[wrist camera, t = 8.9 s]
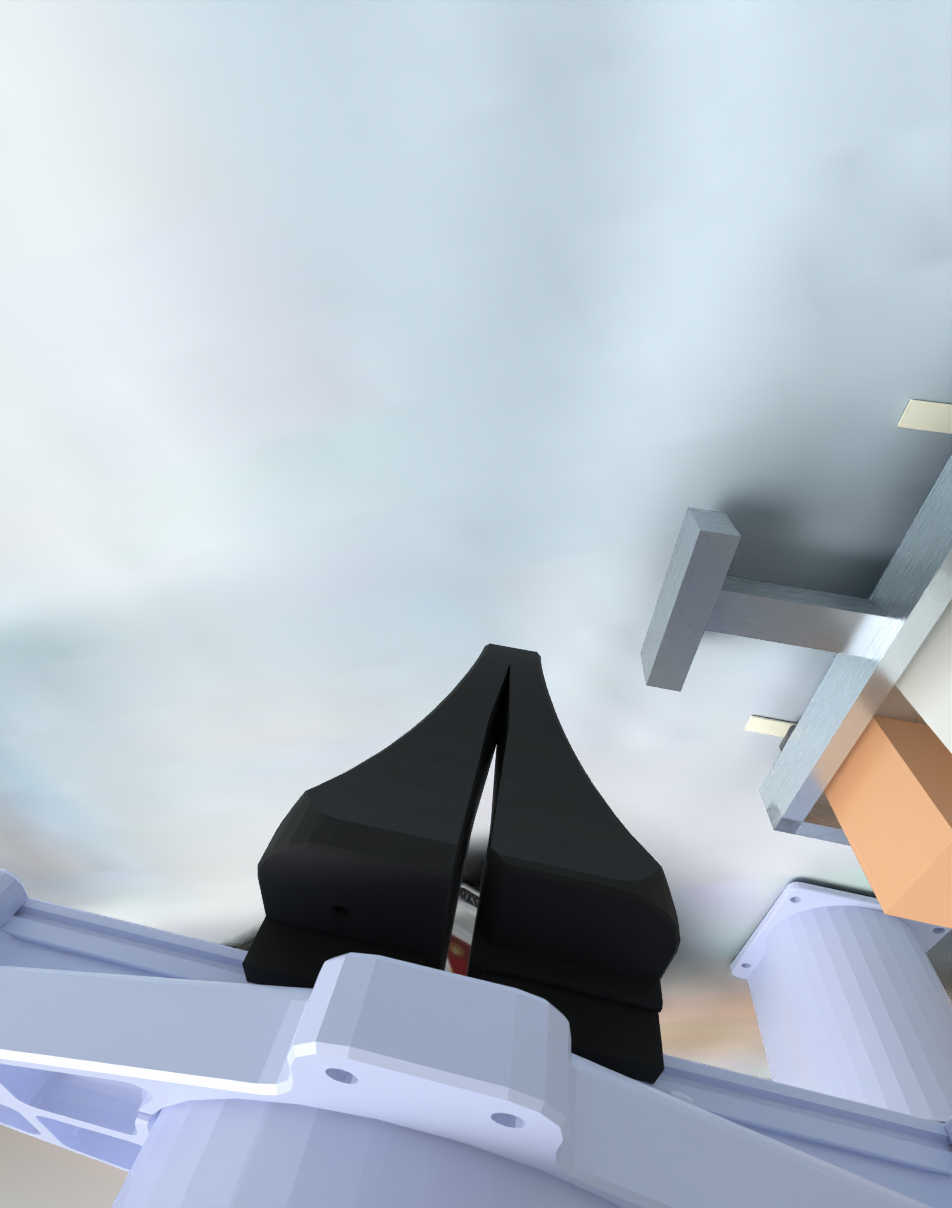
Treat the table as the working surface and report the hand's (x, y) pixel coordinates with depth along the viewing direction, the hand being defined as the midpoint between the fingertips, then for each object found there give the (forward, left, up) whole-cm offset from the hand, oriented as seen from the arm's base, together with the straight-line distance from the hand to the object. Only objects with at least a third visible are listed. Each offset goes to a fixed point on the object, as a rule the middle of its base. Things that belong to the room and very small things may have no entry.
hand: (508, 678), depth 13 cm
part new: (-5, -15, -6) cm, 17 cm away
